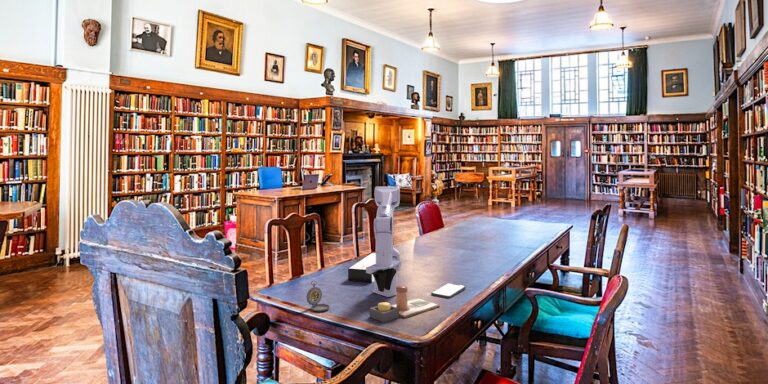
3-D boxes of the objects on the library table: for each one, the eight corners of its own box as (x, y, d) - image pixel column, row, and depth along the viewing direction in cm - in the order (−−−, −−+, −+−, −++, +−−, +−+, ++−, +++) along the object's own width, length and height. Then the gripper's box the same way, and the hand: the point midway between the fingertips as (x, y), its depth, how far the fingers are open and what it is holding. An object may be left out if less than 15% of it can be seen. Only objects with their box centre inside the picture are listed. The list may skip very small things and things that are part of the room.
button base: (369, 316, 156) (369, 308, 155) (385, 311, 160) (385, 303, 160) (383, 322, 150) (383, 313, 150) (399, 317, 155) (399, 308, 155)
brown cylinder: (394, 308, 161) (393, 287, 160) (401, 306, 164) (401, 284, 163) (402, 311, 158) (401, 289, 157) (409, 308, 161) (409, 286, 160)
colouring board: (381, 309, 162) (381, 307, 162) (416, 299, 174) (416, 297, 174) (404, 318, 153) (404, 316, 153) (439, 306, 165) (439, 304, 165)
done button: (375, 312, 155) (375, 304, 155) (384, 309, 158) (384, 301, 158) (383, 315, 152) (383, 307, 152) (393, 312, 155) (393, 304, 155)
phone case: (449, 300, 175) (466, 289, 188) (449, 296, 175) (466, 285, 188) (429, 296, 180) (447, 286, 193) (429, 292, 180) (447, 282, 193)
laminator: (371, 283, 198) (371, 270, 197) (345, 281, 201) (345, 268, 201) (392, 265, 230) (392, 254, 230) (369, 264, 234) (369, 252, 233)
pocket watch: (326, 312, 160) (325, 285, 159) (303, 311, 161) (303, 284, 161) (332, 305, 168) (332, 279, 167) (311, 304, 169) (310, 278, 169)
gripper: (375, 256, 146) (375, 297, 147) (407, 250, 155) (407, 288, 156) (361, 253, 151) (362, 292, 152) (393, 247, 161) (393, 284, 162)
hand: (384, 290), depth 155 cm, fingers closed
